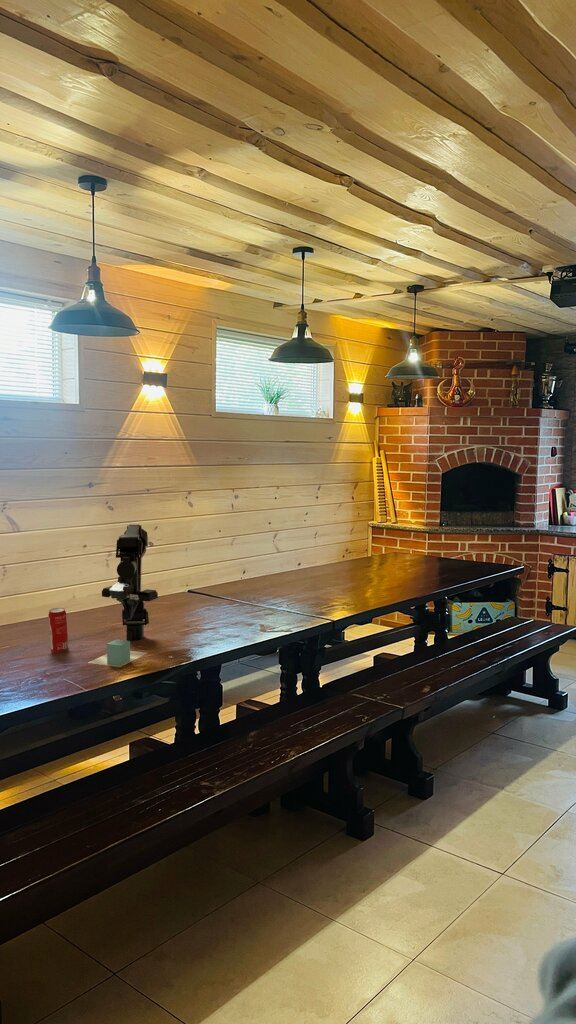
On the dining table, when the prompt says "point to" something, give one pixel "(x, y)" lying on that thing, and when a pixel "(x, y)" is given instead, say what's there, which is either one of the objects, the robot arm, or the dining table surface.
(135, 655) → the board
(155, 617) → the dining table surface
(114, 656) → the teal rectangular block
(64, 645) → the beverage can
